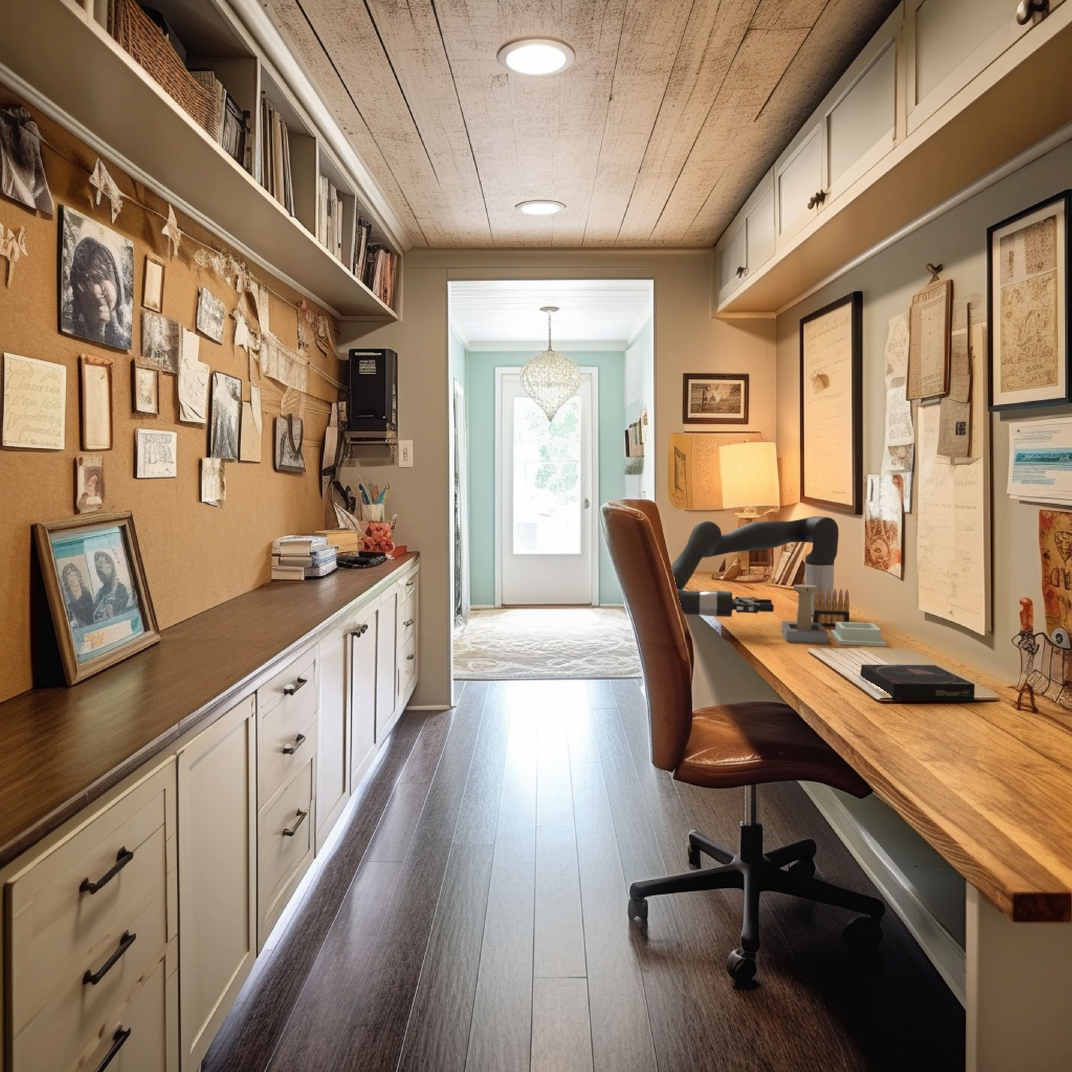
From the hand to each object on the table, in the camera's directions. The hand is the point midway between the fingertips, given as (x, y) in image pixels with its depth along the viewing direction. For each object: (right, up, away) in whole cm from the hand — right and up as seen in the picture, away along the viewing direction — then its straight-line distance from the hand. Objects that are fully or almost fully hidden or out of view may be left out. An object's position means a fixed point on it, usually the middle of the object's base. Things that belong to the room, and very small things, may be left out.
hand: (772, 605), depth 222 cm
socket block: (+9, -9, -1) cm, 13 cm away
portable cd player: (+13, -14, -57) cm, 60 cm away
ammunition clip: (+23, -8, +15) cm, 28 cm away
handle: (+9, -9, -1) cm, 13 cm away
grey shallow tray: (+23, -9, -5) cm, 25 cm away
